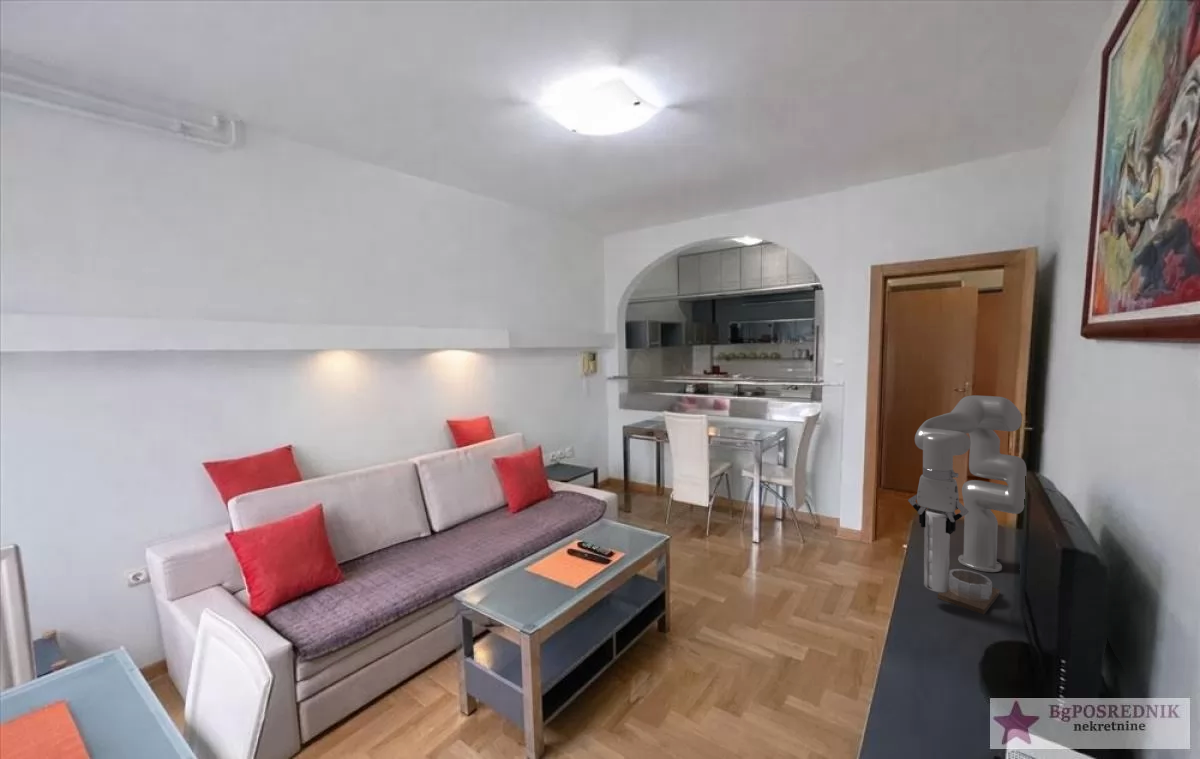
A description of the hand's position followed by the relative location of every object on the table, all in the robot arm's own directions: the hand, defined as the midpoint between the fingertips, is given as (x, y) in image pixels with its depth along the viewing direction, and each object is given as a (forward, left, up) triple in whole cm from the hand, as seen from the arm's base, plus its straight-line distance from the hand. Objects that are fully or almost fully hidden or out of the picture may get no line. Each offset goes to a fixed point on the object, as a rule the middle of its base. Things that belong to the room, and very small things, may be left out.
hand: (937, 528), depth 146 cm
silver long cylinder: (0, 0, -19) cm, 19 cm away
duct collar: (-14, +5, -25) cm, 29 cm away
